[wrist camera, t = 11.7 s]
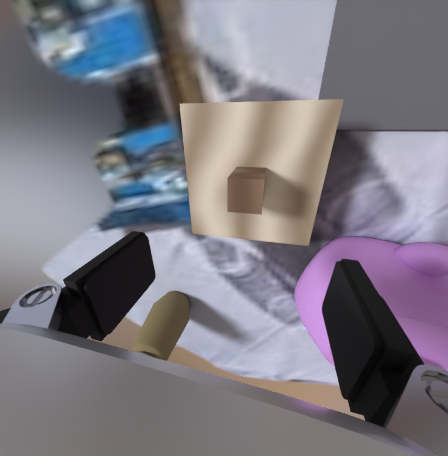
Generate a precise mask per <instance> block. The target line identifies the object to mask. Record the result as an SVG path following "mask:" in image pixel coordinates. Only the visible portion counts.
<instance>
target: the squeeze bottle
mask: <svg viewBox="0 0 448 456" xmlns="http://www.w3.org/2000/svg"><path fill="white" fill-rule="evenodd" d="M189 312H190V301H189V300H188V298H187V297H186V296H185V295H183V294H182V293H179V292H175V291H171V292H168V293H167V294H166V295H164V296H163V297H162V298H161V299H159V300H158V301H157V302H156V303H154V305H153V307H152V308H151V310H150V312H149V314H148V316H147V318H146V320H145V322H144V324H143V326H142V328H141V330H140V332H139V334H138V336H137V338H136V340H135V342H134V344H133V347H132V349H133V352H136V353H140V354H143V355H147V356H150V357H154V358H158V359H161V360H165V361H167V360H168V358H169V356H170V354H171V352H172V350H173V349H174V347H175V345H176V343H177V341H178V339H179V338H180V336H181V334H182V332H183V330H184V328H185V327H186V325H187V323H188V321H189Z"/></svg>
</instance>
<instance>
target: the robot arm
mask: <svg viewBox="0 0 448 456" xmlns="http://www.w3.org/2000/svg"><path fill="white" fill-rule="evenodd" d="M155 276H156V275H155V269H154V264H153V260H152V255H151V250H150V245H149V240H148V237H147V236H146V235H145V233H143V232H136V231H133V232H131V233H129V234H128V235H126V236H125V237H124V238H122V239H121V240H119V241H118V242H116V243H115V244H114V245H112V246H111V247H109V248H108V249H106V250H105V251H104V252H102V253H101V254H99V255H98V256H96V257H95V258H93V259H92V260H91V261H89V262H88V263H86V264H85V265H83V266H82V267H81V268H79V269H78V270H76V271H75V272H73V273H72V274H71V275H69V276H68V277H66V278H65V279H63V281H64V283H65V285H66V286H65V287H64V288H63V289H62V287H61V286H60V285H59V284H56V283H49V284H43V285H40V286H37V287H35V288H33V289H31V290H29V291H27V292H25V293H24V294H22V295H21V296H20V297H19V298H18V299H17V300H16V301H15V302H14V304H13V306H12V308H9V309H6V310H3V311H0V456H448V371H446V370H444V369H441V368H438V367H436V366H432V365H425V364H424V362H423V361H422V359H421V358H420V356H419V354H418V353H417V351H416V350H415V348H414V346H413V345H412V343H411V342H410V340H409V338H408V337H407V335H406V334H405V332H404V330H403V329H402V327H401V326H400V324H399V322H398V321H397V319H396V318H395V316H394V314H393V313H392V311H391V310H390V308H389V306H388V305H387V303H386V301H385V300H384V299H383V297H382V296H380V295H379V293H378V292H377V290H376V288H375V287H374V285H373V283H372V282H371V280H370V279H369V277H368V275H367V274H366V272H365V270H364V269H363V267H362V266H361V264H360V262H359V261H357V260H351V259H341V261H337V262H336V264H335V266H334V270H333V273H332V276H331V279H330V282H329V285H328V288H327V291H326V294H325V297H324V301H323V304H322V315H323V319H324V323H325V327H326V331H327V335H328V340H329V344H330V348H331V352H332V356H333V361H334V365H335V369H336V373H337V377H338V381H339V386H340V390H341V394H342V396H343V398H344V399H347V400H348V403H349V407H350V411H351V412H353V413H357V414H361V415H364V418H365V421H364V420H361V419H359V418H356V417H353V416H350V415H347V414H345V413H341V412H338V411H335V410H332V409H328V408H325V407H322V406H319V405H315V404H312V403H309V402H306V401H302V400H299V399H296V398H293V397H289V396H286V395H283V394H279V393H276V392H272V391H268V390H265V389H262V388H258V387H255V386H251V385H248V384H245V383H241V382H238V381H234V380H231V379H227V378H224V377H221V376H217V375H214V374H210V373H207V372H203V371H200V370H196V369H192V368H189V367H186V366H182V365H179V364H175V363H171V362H168V361H165V360H161V359H158V358H154V357H150V356H147V355H143V354H140V353H136V352H133V351H129V350H126V349H122V348H118V347H115V346H111V345H107V344H104V343H100V342H96V341H93V340H90V339H87V338H88V337H89V336H91V338H92V339H95V340H98V341H102V340H103V339H104V338H105V337H106V335H108V334H110V333H111V332H112V331H113V330H114V329H115V327H116V326H117V325H118V324H119V323H120V321H121V320H122V319H123V318H124V317H125V315H126V314H127V313H128V312H129V310H130V309H131V308H132V307H133V306H134V304H135V303H136V302H137V301H138V300H139V298H140V297H141V296H142V295H143V293H144V292H145V291H146V290H147V289H148V287H149V286H150V285H151V284H152V282H153V281H154V279H155Z"/></svg>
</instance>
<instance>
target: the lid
mask: <svg viewBox="0 0 448 456" xmlns="http://www.w3.org/2000/svg"><path fill="white" fill-rule="evenodd" d="M343 101H344V99H330V100H296V101H262V102H227V103H193V104H180V112H181V122H182V132H183V142H184V152H185V162H186V172H187V182H188V192H189V202H190V212H191V223H192V233H194V234H203V235H212V236H222V237H231V238H240V239H250V240H259V241H268V242H277V243H287V244H296V245H305V246H309V242H310V238H311V234H312V229H313V225H314V221H315V217H316V213H317V209H318V204H319V200H320V196H321V192H322V188H323V184H324V180H325V175H326V171H327V167H328V163H329V159H330V155H331V150H332V146H333V142H334V138H335V134H336V130H337V125H338V121H339V117H340V113H341V109H342V105H343Z"/></svg>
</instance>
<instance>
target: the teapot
mask: <svg viewBox="0 0 448 456" xmlns="http://www.w3.org/2000/svg"><path fill="white" fill-rule="evenodd" d="M341 259H351V260H357V261H359V262H360V264H361V266H362V267H363V269H364V270H365V272H366V274H367V275H368V277H369V279H370V280H371V282H372V283H373V285H374V287H375V288H376V290H377V292H378V293H379V295H380V296H382V297H383V299H384V300H385V301H386V303H387V305H388V306H389V308H390V310H391V311H392V313H393V314H394V316H395V318H396V319H397V321H398V322H399V324H400V326H401V327H402V329H403V330H404V332H405V334H406V335H407V337H408V338H409V340H410V342H411V343H412V345H413V346H414V348H415V350H416V351H417V353H418V354H419V356H420V358H421V359H422V361H423V362H424V364H425V365H432V366H436V367H438V368H441V369H444V370H446V371H448V246H445V245H441V244H437V243H426V242H418V243H411V244H406V245H404V246H403V245H400V244H396V243H393V242H389V241H385V240H379V239H373V238H366V237H358V236H346V237H339V238H335V239H333V240H331V241H330V242H328V243H327V244H326V245H325V246H324V247H323V248H322V249H321V250H320V251H319V252H318V253H317V254H316V255H315V256H314V258H313V259H312V260H311V261H310V263H309V264H308V265H307V267H306V268H305V270H304V272H303V273H302V275H301V277H300V279H299V280H298V283H297V285H296V288H295V294H294V296H295V301H296V306H297V309H298V312H299V315H300V317H301V320H302V322H303V324H304V326H305V327H306V329H307V331H308V333H309V334H310V336H311V338H312V339H313V341H314V342H315V344H316V345H317V347H318V348H319V350H320V351H321V353H322V354H323V356H324V357H325V358H326V360H327V361H328V362H330V363H331V364H332V365H334V361H333V356H332V352H331V348H330V344H329V340H328V335H327V331H326V327H325V323H324V319H323V315H322V304H323V301H324V297H325V294H326V291H327V288H328V285H329V282H330V279H331V276H332V273H333V270H334V266H335V264H336V262H337V261H341ZM334 366H335V365H334Z"/></svg>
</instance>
